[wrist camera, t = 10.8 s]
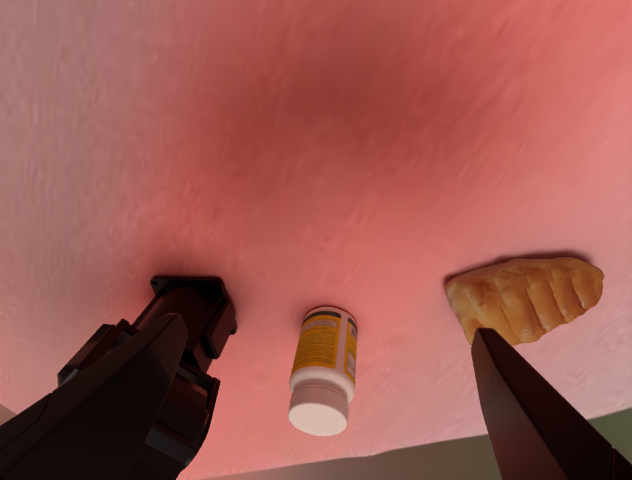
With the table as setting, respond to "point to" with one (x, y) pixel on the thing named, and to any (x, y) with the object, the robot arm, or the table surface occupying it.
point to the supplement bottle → (324, 372)
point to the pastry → (524, 296)
